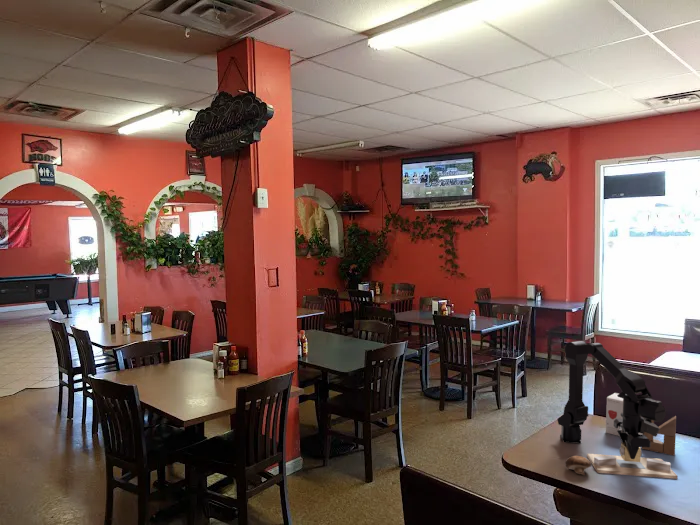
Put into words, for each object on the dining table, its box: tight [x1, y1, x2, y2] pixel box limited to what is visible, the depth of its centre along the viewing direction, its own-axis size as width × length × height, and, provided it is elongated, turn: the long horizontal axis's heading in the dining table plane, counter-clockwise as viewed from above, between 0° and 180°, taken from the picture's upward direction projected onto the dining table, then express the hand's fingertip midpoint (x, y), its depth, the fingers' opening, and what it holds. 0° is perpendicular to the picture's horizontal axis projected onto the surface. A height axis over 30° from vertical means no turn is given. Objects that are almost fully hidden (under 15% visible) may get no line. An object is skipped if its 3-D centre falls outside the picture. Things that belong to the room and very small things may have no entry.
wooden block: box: [640, 415, 677, 457], centre depth 193 cm, size 4×11×18 cm, turn 55°
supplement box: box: [605, 392, 623, 437], centre depth 210 cm, size 9×9×15 cm
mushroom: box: [565, 455, 592, 476], centre depth 177 cm, size 8×8×6 cm
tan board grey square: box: [586, 453, 678, 480], centre depth 181 cm, size 25×13×3 cm, turn 80°
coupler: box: [619, 441, 643, 462], centre depth 180 cm, size 7×4×5 cm, turn 80°
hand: (630, 456), depth 180 cm, fingers closed on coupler, 4 cm apart
